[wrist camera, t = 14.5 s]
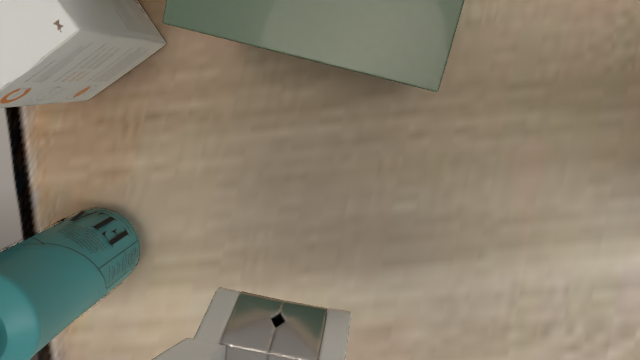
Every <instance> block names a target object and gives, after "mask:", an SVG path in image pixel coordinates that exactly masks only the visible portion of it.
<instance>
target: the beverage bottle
mask: <svg viewBox="0 0 640 360" xmlns="http://www.w3.org/2000/svg"><path fill="white" fill-rule="evenodd" d="M80 211H81V210H80ZM74 214H75V213H74ZM72 215H73V214H72ZM68 217H70V216H68ZM65 219H66V218H64V219H62V220H60V222H61V221H63V220H65ZM58 222H59V221H58ZM56 223H57V222H56ZM54 224H55V223H54ZM52 225H53V224H52ZM47 228H48V227H47ZM45 229H46V228H45ZM41 230H42V229H41ZM33 235H34V234H33ZM26 238H27V240H25V241H23V242H21V243H19V244H18V243H17V245H15V246H12V247H11V248H9V249H8V248H7V250H5V251H3V252H0V360H30V359H31V358H32V357H33V355H34V354H36V353H37V352H38V351H39V350H40V349H42V348H43V347H44V346H45V345H46V344H47V343H49V342H50V341H51V340H52V339H53V338H54V337H56V336H57V335H58V334H59V333H60V332H61V331H63V330H64V329H65V328H66V327H67V326H68V325H69V324H71V323H72V322H73V321H74V320H75V319H76V318H78V317H79V316H80V315H81V314H82V313H83V312H85V311H86V310H87V309H89V308H90V307H91V306H92V305H94V304H96V302H98V301H99V300H100V299H101V298H103V296H108V295H109V294H108V295H106V294H107V293H109V291H110V290H113V288H114V287H115V286H116V285H118V284H119V283H120V282H121V281H122V280H124V279H125V278H126V277H127V276H128V275H129V274H130V273H131V272H132V271H133V269H134V267H135V266H136V265H137V264H136V263H137V261H139V259H138V257H139V255H140V243H139V238H138V235H137V233H136V231H135V229H134V227H133V226H132V224H131V223H130V222H129V221H128V220H127V219H126V218H125V217H124V216H122V215H121V214H119V213H117V212H114V211H112V210H108V209H105V208H103V209H90V210H86V211H81V212H80V213H78V214H77V215H75V216H73V217H71V218H69V219H67V220H65V221H63V222H61V223H59V224H57V225H54V226H53V227H51V228H49V229H47V230H45V231H43V232H41V233H39V234H36V235H35V236H33V237H26ZM28 238H29V239H28ZM116 288H117V287H116ZM114 289H115V288H114ZM100 302H101V301H100ZM94 306H95V305H94ZM93 308H94V307H93ZM87 311H88V310H87Z"/></svg>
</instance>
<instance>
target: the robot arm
mask: <svg viewBox="0 0 640 360" xmlns="http://www.w3.org/2000/svg"><path fill="white" fill-rule="evenodd" d="M327 310H328V312H327ZM326 317H327V318H326ZM350 320H351V313H350V312H349V311H343V310H337V309H331V308H329V309H328V308H324V307H318V306H313V305H307V304H302V303H296V302H291V301H284V300H280V299H275V298H270V297H265V296H261V295H256V294H251V293H247V292H239V291H235V290H230V289H226V288H221V287H220V288H219V289H218V290H217V291H216V292H215V294H214V296H213V298H212V300H211V303H210V305H209V307H208V309H207V311H206V313H205V315H204V318H203V320H202V322H201V324H200V326H199V328H198V330H197V333H196V335H195V337H194V339H190V338H186V339H184V340H183V341H181V342H179V343H178V344H176V345H175V346H173V347H171V348H170V349H168V350H166V351H165V352H163V353H161V354H160V355H158V356H157V357H155V358H153V359H152V360H345V358H346V350H347V343H348V335H349V328H350Z"/></svg>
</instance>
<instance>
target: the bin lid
mask: <svg viewBox="0 0 640 360" xmlns="http://www.w3.org/2000/svg"><path fill="white" fill-rule="evenodd" d="M463 3H464V0H166V6H165V11H164V17H163V23H164V24H168V25H172V26H176V27H180V28H184V29H188V30H192V31H196V32H200V33H204V34H208V35H212V36H216V37H220V38H224V39H228V40H232V41H236V42H240V43H244V44H248V45H251V46H255V47H259V48H263V49H267V50H271V51H275V52H279V53H283V54H287V55H291V56H295V57H299V58H303V59H307V60H311V61H315V62H319V63H323V64H327V65H331V66H335V67H339V68H343V69H347V70H351V71H355V72H359V73H363V74H367V75H371V76H375V77H379V78H383V79H387V80H391V81H395V82H399V83H403V84H407V85H411V86H415V87H419V88H423V89H427V90H431V91H435V92H438V90H439V87H440V83H441V80H442V76H443V73H444V69H445V66H446V63H447V59H448V56H449V52H450V49H451V45H452V42H453V38H454V35H455V31H456V28H457V24H458V21H459V17H460V14H461V10H462V7H463Z"/></svg>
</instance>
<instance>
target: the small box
mask: <svg viewBox="0 0 640 360" xmlns="http://www.w3.org/2000/svg"><path fill="white" fill-rule="evenodd" d="M165 45H166V42H165V41H164V39H163V38H162V36H161V34H160V33H159V32H158V30H157V29H156V27H155V26H154V24H153V22H152V21H151V20H150V18H149V17H148V15H147V14H146V12H145V11H144V9H143V8H142V6H141V5H140V3H139V2H138V0H0V108H5V107H18V106H29V105H40V104H51V103H63V102H74V101H87V100H89V99H91V98H92V97H94V96H95V95H96V94H98V93H99V92H101V91H102V90H104V89H105V88H106V87H108V86H109V85H111V84H112V83H113V82H115V81H116V80H118V79H119V78H120V77H122V76H123V75H125V74H126V73H127V72H129V71H130V70H132V69H133V68H134V67H136V66H137V65H139V64H140V63H141V62H143V61H144V60H145V59H147V58H148V57H150V56H151V55H152V54H154V53H155V52H156V51H158V50H159V49H160V48H162V47H163V46H165Z"/></svg>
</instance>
